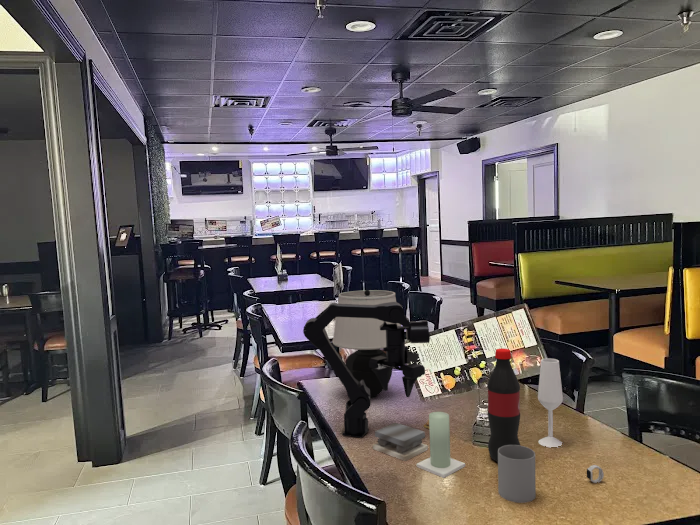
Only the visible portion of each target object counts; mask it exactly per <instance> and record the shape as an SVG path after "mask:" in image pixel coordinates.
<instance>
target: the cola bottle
mask: <svg viewBox="0 0 700 525" xmlns="http://www.w3.org/2000/svg"><path fill="white" fill-rule="evenodd" d="M494 354H495V355H494V358H495V366H494V368H493V370H492V372H491V374H490V377H489V379H488V381H487V383H486V384H487V386H486V387H487V388H486V389H487V417H488V418H487V419H488V424H489V429H490V436H489V440H488V444H487V449H488V453H489V457H490V458H491V459H492V460H493V461H495V462H497V463H498V449H499V448H500V447H502V446H506V445H520V446H521V442H520V440H519V436H518V434H519V428H520V422H521V408H520V407H521V405H520V404H521V403H520V400H521V399H520V398H521V397H520V391H521V385H520V382H519V380H518V378H517V375H516V373H515V371H514V369H513V367H512V365H511V364H512V363H511V360H512V352H511V349H509V348H501V347H500V348H497V349H495V353H494Z"/></svg>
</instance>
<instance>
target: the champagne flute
mask: <svg viewBox="0 0 700 525" xmlns="http://www.w3.org/2000/svg"><path fill="white" fill-rule="evenodd" d="M560 367H561V366H560V360H558V359H556V358H550V357H548V358H542V359H541V360H540V369H539V381H538V389H537V390H538V392H537V399H538V402H539V403H540V404H541V405H542V406H543V407H544V408H545V409H546V410H547V420H548V422H547V423H548V426H547V428H548V430H547V432H548V434H547V436H544V437H542V438H540V439H539V440H538V444H539V445H541V446H543V447H545V446H546V448H551V447H557V448H559V447H558V446H561V445H562V443H563V442H562V441H561V440H559V438H556V437H554V434H553V433H554V431H553V428H554V425H553V416H554V414H553V412H554V411H553V410H555V409H557V408H558V407H559V406H560V405H561V404H562V402H563V401H564V397H563V387H562V379H561V370H560ZM561 447H562V446H561Z"/></svg>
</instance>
